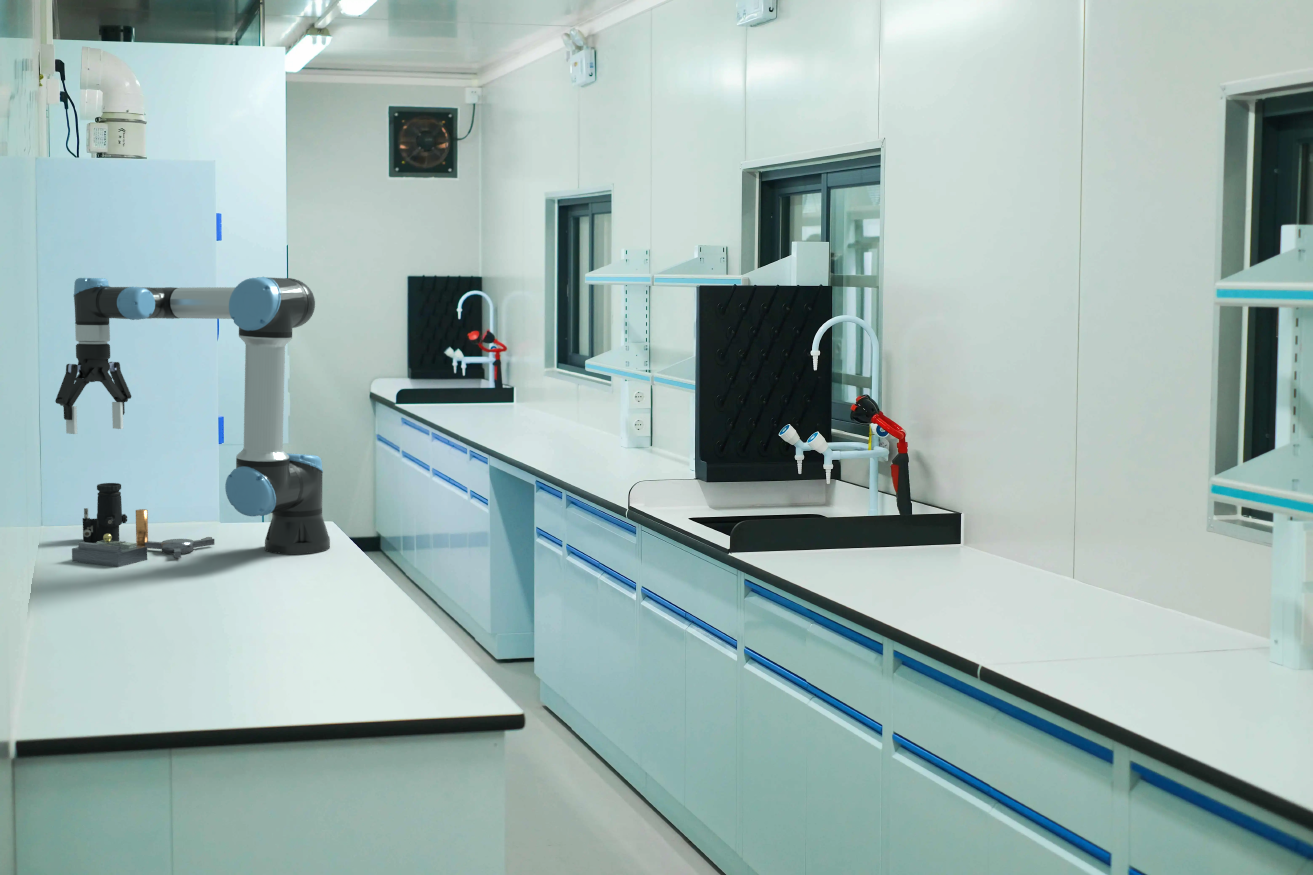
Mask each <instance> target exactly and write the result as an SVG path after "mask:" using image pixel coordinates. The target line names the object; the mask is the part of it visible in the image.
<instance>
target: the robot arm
mask: <svg viewBox="0 0 1313 875" xmlns="http://www.w3.org/2000/svg"><path fill="white" fill-rule="evenodd" d="M73 300H74V301H73V302H74V321H75V322H74V324H75V341H76V342H78V343H76V345H75V357H76V359H77V361H78V362H77V364H76V363H66V366H65V374H64V377H63V380H62V381H61V382H62V383H61V385H60V388H59V390H58V393H57V395H56V398H55V400H54V402H55V403H56V404H58V405H60V406H62V407H63V419H64V420H65V428H66V429H65V430H66V431H65V432H66V434H69V435H71V434H72V435H77V434H78V415H77V414H78V412H77V411H78V410H77V406H74V405H75V403H76V401H77V400H78V399H79V397H80V395H81V394H82V392H83V391H84V389H85V387H86V386H87V385H88V384H90V383H95V382H98V383H99V382H100V383H101V384H102V386H104V388H105V389H106V390H107V392H108V393H109V395H110V396H111V397H112V398H113V399H114V401H112V402H111V411H112V413H111V415H112V417H111V418H112V429H117V430H123V429H124V416H125V413H126V412H125V403H128V400H129V399H131V398H132V394H131V390H130V389H129V387H128V385H127V383H126V380H125V377H124V375H123V373H122V370H121V364H120V362H119V361H109V359H110V358H111V345H110V344H109V343H108V342H110V340H111V333H110V332H111V330H110V319H117V320H118V319H120V320H121V319H123V320H131V321H134V320H136V321H137V320H146V319H150V320H151V319H169V320H170V319H171V320H173V319H217V320H219V319H221V320H224V319H225V320H226V319H227V320H230V319H231V320H233V323H234V324H235V326H237V327H238V337H239V338H240V339H241V340H242V342H244V344H245V351H244V352H245V353H244V354H245V356H244V359H245V360H244V361H245V364H244V403H243V404H244V408H243V409H244V410H243V414H244V416H243V447H242V448H243V449H242V450H241V451H240V452H239V453H238V454H236V458H235V459H236V460H235V462H236V463H235V468H234V469H232V470H231V471H230V474H228V475H227V477H226V480H225V486H224V487H225V488H224V489H225V494H226V498H227V499H228V502H229V503H230V505H231V506H233V508H234V510H236V511H237V512H238V513H240V514H241V515H243V516H246V517H260V516H261V517H264V516H267V515H270V514H272V515H271V521H270V523H269V527H268V530H267V533H266V536H265V539H264V549H265V551H266V552H270V553H273V554H282V555H283V554H284V555H304V554H314V553H319V552H325V551H327V550H329V549H330V548H331V538H330V535H329V532H328V529H327V527H326V523H325V520H324V517H323V473H324V469H323V461H322V458H321V457H320V456H318V455H316V454H315V455H314V454H305V453H304V454H302V453H287V452H286V451H284V448H283V445H284V444H283V442H284V440H283V439H284V410H285V408H284V407H285V402H284V400H285V369H286V368H285V367H286V366H285V363H286V360H285V359H286V358H285V357H286V346H287V344H288V343H289V342H290V341H292V339H293V329H295V328H299V327H302V326H303V325H305V324H306V323H307V322H308V321H310V319H311V318H312V317H313V315H314V312H315V307H316V298H315V296H314V293H313V291H312V290H311V288H310V287H309V286H308V285H307V284H306V283H305V282H303V281H302V280H299V279H295V278H292V277H268V276H267V277H265V276H258V277H251V278H247V279H244V280H243V281H241V282H239V283H238V284H237V285H236V286H234V287H233V286H232V287H231V286H230V287H227V286H224V287H221V286H220V287H218V286H217V287H210V286H209V287H208V286H207V287H174V286H172V287H171V286H170V287H150V286H149V287H145V286H144V287H143V286H142V287H141V286H110V285H109V280H108V279H107V278H103V277H101V278H100V277H99V278H98V277H77V278H75V280H74V289H73Z"/></svg>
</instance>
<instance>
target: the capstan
mask: <svg viewBox="0 0 1313 875" xmlns="http://www.w3.org/2000/svg"><path fill="white" fill-rule="evenodd" d="M148 513H149V512H148V509H144V508H142V509H140V508H139V509H136V510H135V540H136V541H135V543H136V545H137V546H146V547H147V549H150V550H151V549H152V550H161V553H163V554H168V555H173V557H174V558H177V559H178V558H181V557H182V554H188V553H192V552H194V549H195V548H196V549H197V548H202V547H209V546H214V545H215V538H213V537H212V538H209V539H203V538H201V539H202V540H201V539H196V540H192V539H190V538H189V539H188V538H172V539H165V540H162V541H152V540H150V541H149V520H148V519H149V518H148V517H149V516H148V515H149V514H148Z"/></svg>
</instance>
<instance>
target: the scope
mask: <svg viewBox="0 0 1313 875" xmlns="http://www.w3.org/2000/svg"><path fill="white" fill-rule="evenodd" d="M96 490H97V491H98V492H97V506H96V509H97V510H96V512H97V513H96V517H95V518H90V517H89V507H87V508H83V517H82V540H83V541H82V542H87V543H97V541H101V540H104V539H103V536H104V535H105V534H110V535H111V536H112V539H111V540H112V541H115V540H117V541H120V525H122V524H126V523H127V522H128V516H127V515H126V513H123V511H122V510H123V509H122V495H121V494H122V493H121V490H122V484H121V483H118V482H104V483H98V484H97V485H96Z"/></svg>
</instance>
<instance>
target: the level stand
mask: <svg viewBox="0 0 1313 875" xmlns="http://www.w3.org/2000/svg"><path fill="white" fill-rule="evenodd" d="M103 539H104V540H101V541H97V543H87V542H84V541H80V542H78V544H77V545H78V546H76V547H73V548H71V559H72V560H71V561H72V562H74V563H81V564H90V565H96V566H97V565H98V566H107V567H114V568H115V567H116V568H119V567H125V566H128V565H131V564H132V565H133V564H136V563H139V562H142V561H147V560H148V548H147V547H146V546H137V545H136V542H129V541H120V540H119V541H117V540H115V541H112V540H111V539H112V536H111V535H110V534H105V535H104V536H103Z"/></svg>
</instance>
